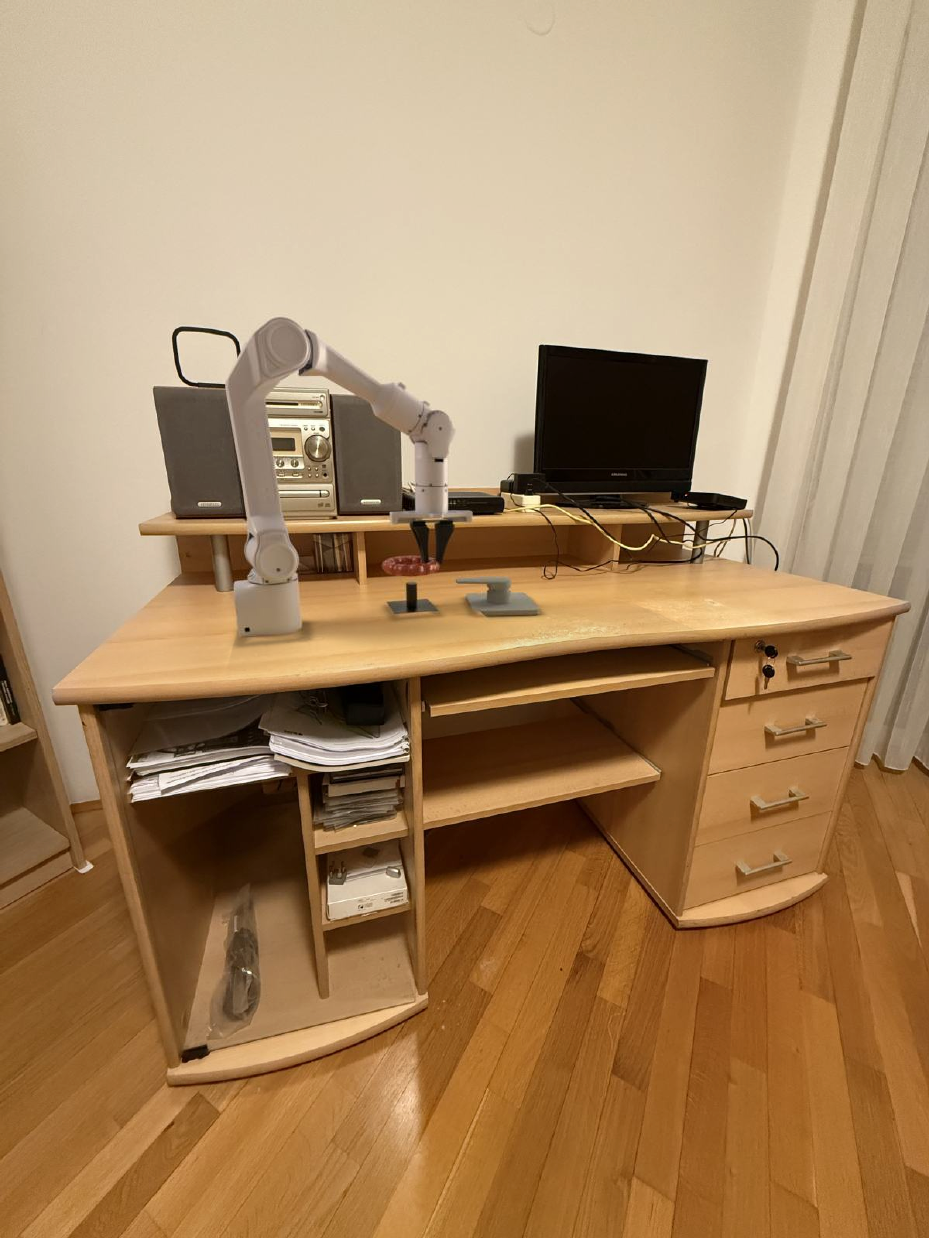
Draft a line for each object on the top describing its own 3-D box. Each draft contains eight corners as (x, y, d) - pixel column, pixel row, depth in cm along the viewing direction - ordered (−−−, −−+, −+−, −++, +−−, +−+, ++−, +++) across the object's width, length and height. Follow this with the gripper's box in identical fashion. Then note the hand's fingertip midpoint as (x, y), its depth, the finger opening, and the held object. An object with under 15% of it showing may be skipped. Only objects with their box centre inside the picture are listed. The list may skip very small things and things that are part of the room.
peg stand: (394, 619, 86) (393, 590, 84) (386, 606, 93) (385, 579, 91) (438, 615, 88) (438, 587, 87) (427, 603, 95) (427, 577, 94)
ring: (388, 579, 82) (387, 567, 81) (378, 567, 91) (378, 556, 90) (445, 575, 85) (445, 564, 84) (430, 564, 94) (430, 553, 93)
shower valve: (452, 571, 98) (525, 570, 100) (452, 597, 100) (524, 596, 101) (459, 587, 86) (542, 585, 88) (459, 616, 88) (540, 614, 90)
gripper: (394, 487, 79) (396, 570, 83) (478, 487, 83) (477, 565, 87) (386, 485, 85) (389, 562, 89) (465, 484, 89) (464, 558, 94)
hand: (432, 563), depth 89 cm, fingers closed on ring, 2 cm apart
